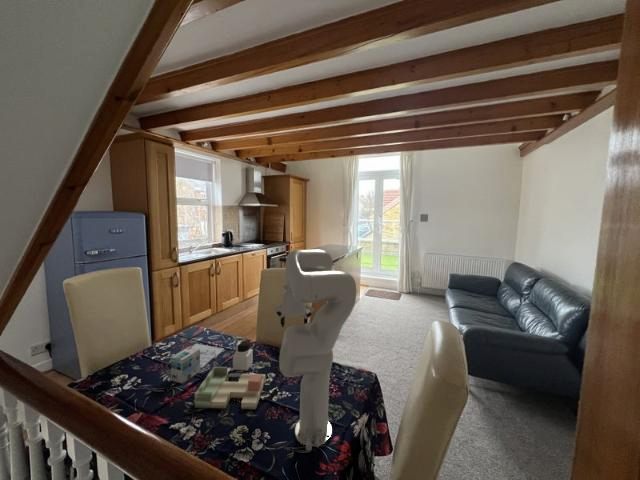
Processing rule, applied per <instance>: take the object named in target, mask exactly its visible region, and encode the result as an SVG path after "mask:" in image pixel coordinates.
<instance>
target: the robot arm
mask: <svg viewBox="0 0 640 480" xmlns="http://www.w3.org/2000/svg"><path fill="white" fill-rule="evenodd" d="M285 260H286V261H285V272H284V273H285V274H284V275H285V280H286V281H285V285H282V289H283V290H284V289H285V291H283V295H282V303H281V304H279V305H276V306H274V310H275V313H276V315H277V316H278V317H279V318H280V325H281V328H284V327H285V324H286V321H285V320H286V319H285V318H286V316H300V317H301V316H302V317H303V323H298V324H292V325H289V326H288V327H287V328H286V329H285V331H284V333H283V338H282V343H281V347H280V352H279V358H278V362H279V366H278V367H279V369H280V372H281V374H282V376H284V377H287V378H294V377H301V376H302V378H301V382H300V394H299V402H300V403H299V420H298V421H297V422H296V424H295V427H294V435H295V439H296V441H298V443H299V442H300V443H299V444H300V445H302V444H303V445H302V446H304V445H306V446H305V450H306V451H307V452H310V451H312V450H313V448H312V446H316V447H317V448H320V447H319V445H321V444H323V443H324V442H326V441H327V440H328V439H329V438H330V437H331V438H332V436H331V435H333V428H332V424H331V422H329V397H330V394H329V392H330V377H331V371H332V370H331V369H332V365H333V361H334V352H333V349H334V347H335V345H336V342H337V340H338V337H339V336H340V333H341V331H342V328H343V326H344V325H345V323H346V322H347V320H348V319H349V317H350V315H351V314H352V311H353V309H354V307H355V304H356V300H357V283H356V280H355V278H354V276H353V275H352V274H350V273H348V272H346V271H344V270H343V271H341V270H332V268H333V264H334V262H333V261H334V260H333V257H332V255H331V254H330V253H329V252H328V251H325V250H323V249H293V250H291V251H290V252H289V253H287V256H286V259H285ZM325 302H326V303H325ZM311 303H312V304H313V303H314V304H315V303H325V304H323V305H322V306H320V307H319V309H318V310H317V311H316V313H315V314H314V316H313V319H312V321H311V322H308V319H309V318H310V317H311V316H312V314H313V313H314V311H315V308H314V307H312V306H310V305H308V304H311ZM280 309H281V311H280ZM307 310H309V312H308V313H307ZM327 436H329V437H327ZM312 443H314V444H312Z"/></svg>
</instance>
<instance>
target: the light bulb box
mask: <svg viewBox="0 0 640 480" xmlns="http://www.w3.org/2000/svg"><path fill="white" fill-rule="evenodd" d="M170 361H171V363H170V374H171V375H170V376H171V377H170V381H173V382H176V383H178V384H179V383H180V384H184V383H185V382H187V381H188V380H190V379H191V378H193V377H194V376H196V375H197V374H198V373H200V372H201V369H200V349H198V348H194V347H192V346H188V347H186V348H184V349H182V350H181V351H178V352H177V353H175V354H174V355H173V356H170Z"/></svg>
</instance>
